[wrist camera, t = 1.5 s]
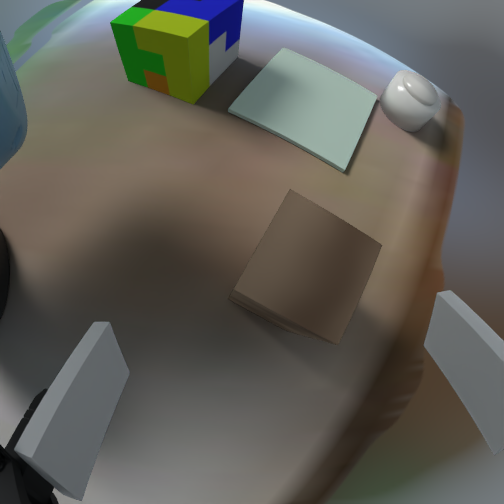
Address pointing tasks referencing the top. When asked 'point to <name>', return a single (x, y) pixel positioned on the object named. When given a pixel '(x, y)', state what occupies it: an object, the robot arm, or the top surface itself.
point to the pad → (307, 106)
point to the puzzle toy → (178, 43)
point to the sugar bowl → (409, 101)
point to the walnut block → (307, 271)
